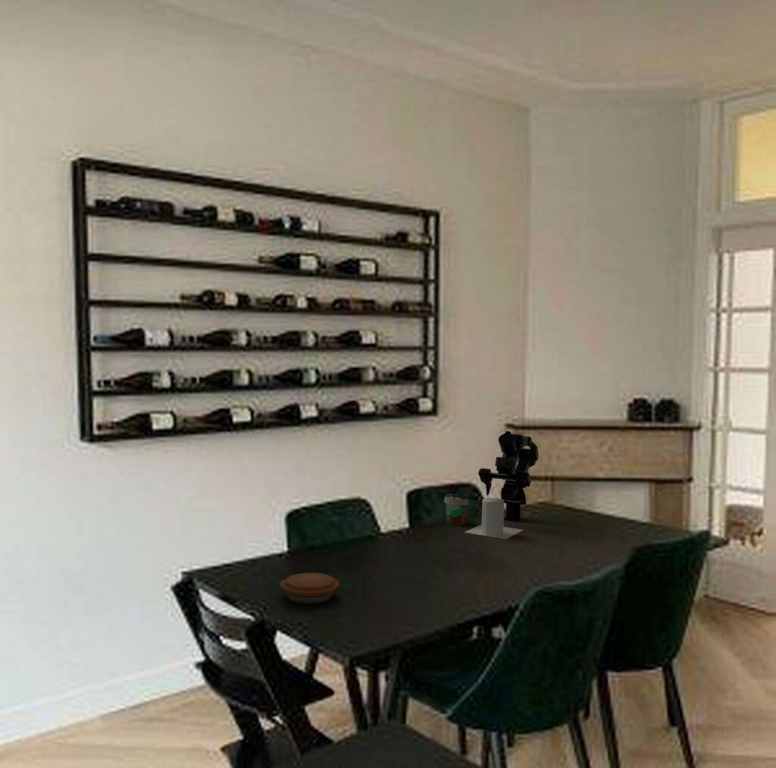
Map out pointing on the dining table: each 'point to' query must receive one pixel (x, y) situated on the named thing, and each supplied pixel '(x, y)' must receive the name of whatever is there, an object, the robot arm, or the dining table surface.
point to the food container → (456, 510)
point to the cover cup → (492, 516)
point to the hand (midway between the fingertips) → (499, 496)
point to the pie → (309, 587)
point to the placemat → (506, 534)
